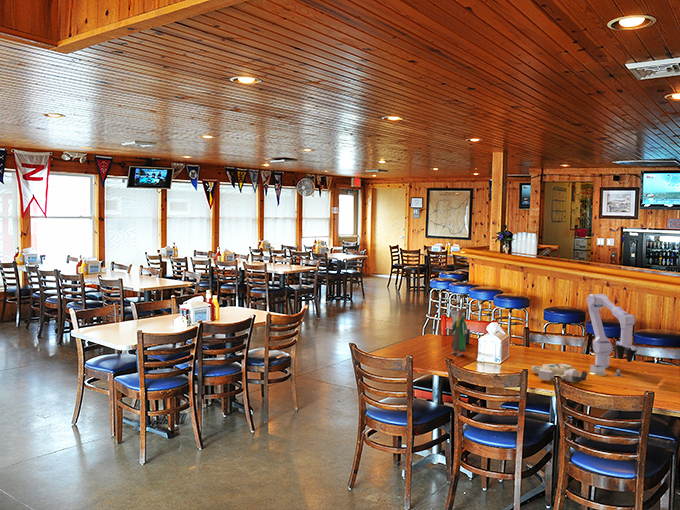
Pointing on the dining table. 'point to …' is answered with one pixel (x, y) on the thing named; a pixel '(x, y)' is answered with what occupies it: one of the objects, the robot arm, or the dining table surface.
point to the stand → (618, 374)
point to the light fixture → (467, 338)
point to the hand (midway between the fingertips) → (624, 360)
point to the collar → (597, 369)
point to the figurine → (459, 333)
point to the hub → (598, 375)
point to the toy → (559, 372)
